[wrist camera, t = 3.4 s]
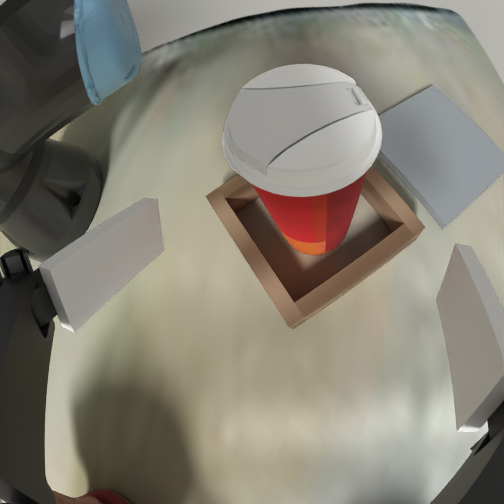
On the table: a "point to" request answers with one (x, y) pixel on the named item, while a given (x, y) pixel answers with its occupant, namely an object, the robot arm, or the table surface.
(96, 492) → the decorative planter
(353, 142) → the paper cup
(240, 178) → the walnut collar
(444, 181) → the slate pad
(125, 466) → the table surface
